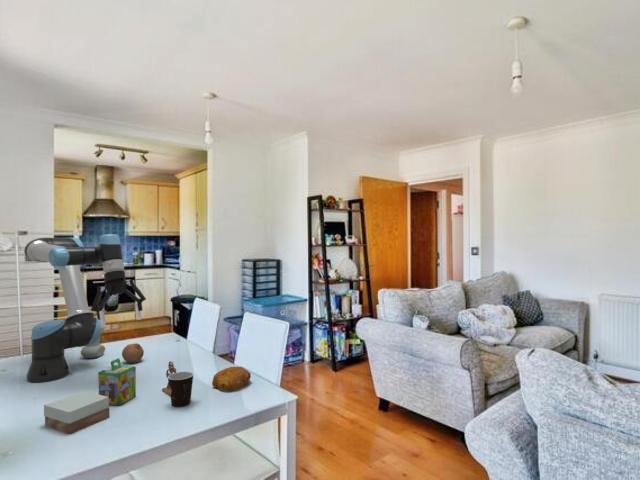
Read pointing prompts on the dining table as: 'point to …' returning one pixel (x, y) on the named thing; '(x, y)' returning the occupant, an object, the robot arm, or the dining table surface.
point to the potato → (231, 378)
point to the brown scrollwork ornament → (167, 390)
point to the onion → (132, 353)
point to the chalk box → (117, 383)
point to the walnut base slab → (77, 422)
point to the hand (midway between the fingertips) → (121, 323)
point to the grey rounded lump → (93, 350)
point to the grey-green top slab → (76, 407)
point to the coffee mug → (180, 388)
